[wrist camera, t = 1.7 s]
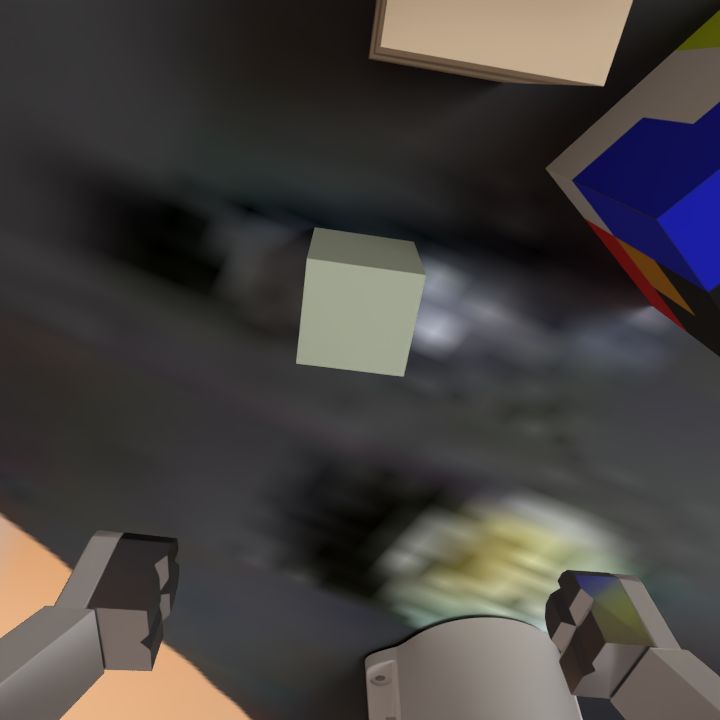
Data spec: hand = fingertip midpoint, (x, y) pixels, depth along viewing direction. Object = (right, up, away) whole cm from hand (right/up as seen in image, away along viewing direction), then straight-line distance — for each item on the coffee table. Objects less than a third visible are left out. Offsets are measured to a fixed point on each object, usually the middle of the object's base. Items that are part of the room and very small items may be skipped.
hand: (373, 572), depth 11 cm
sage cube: (0, +9, +16) cm, 18 cm away
